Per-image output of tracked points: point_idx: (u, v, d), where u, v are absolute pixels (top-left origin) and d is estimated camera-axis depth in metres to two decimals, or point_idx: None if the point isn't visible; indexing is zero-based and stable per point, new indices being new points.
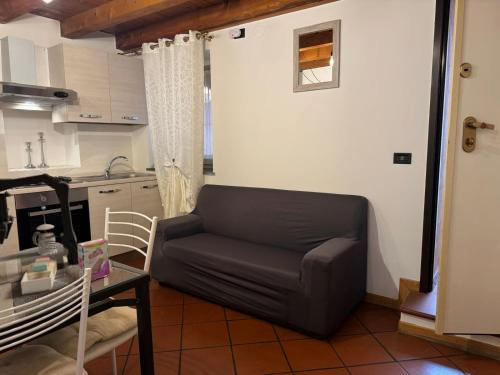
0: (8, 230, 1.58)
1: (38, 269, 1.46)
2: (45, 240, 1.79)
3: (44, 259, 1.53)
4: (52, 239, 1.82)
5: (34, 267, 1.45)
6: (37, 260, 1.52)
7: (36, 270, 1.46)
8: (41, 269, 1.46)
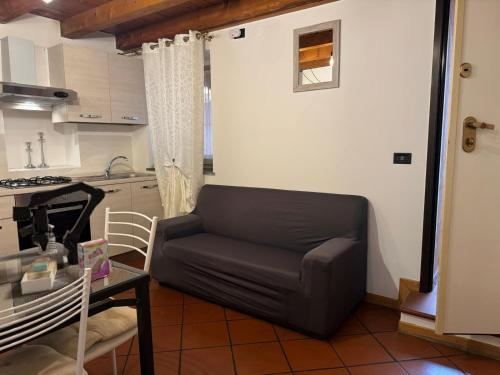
0: None
1: (38, 269, 1.46)
2: None
3: (44, 259, 1.53)
4: (52, 239, 1.82)
5: (34, 267, 1.45)
6: (37, 260, 1.52)
7: (36, 270, 1.46)
8: (41, 269, 1.46)
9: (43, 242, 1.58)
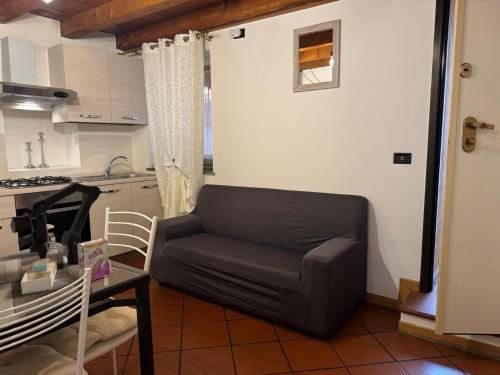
0: None
1: (38, 269, 1.46)
2: None
3: (44, 260, 1.52)
4: (52, 239, 1.82)
5: (34, 267, 1.45)
6: (36, 261, 1.51)
7: (36, 270, 1.45)
8: (41, 269, 1.46)
9: (42, 252, 1.54)
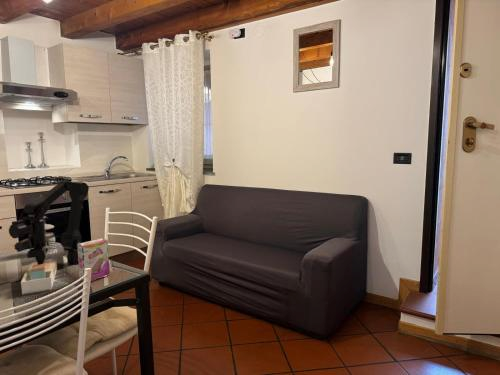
0: None
1: None
2: None
3: (41, 266, 1.45)
4: (52, 239, 1.82)
5: None
6: (33, 267, 1.44)
7: None
8: None
9: (40, 257, 1.47)
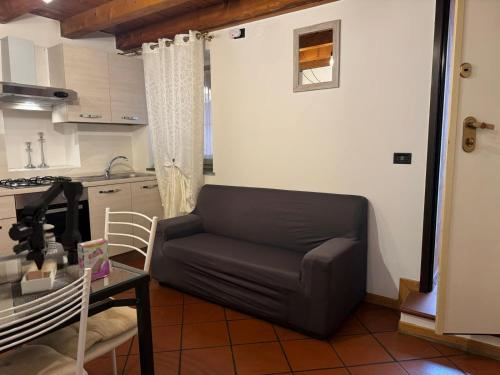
0: None
1: None
2: (45, 240, 1.79)
3: (38, 278, 1.41)
4: (52, 239, 1.82)
5: None
6: (30, 279, 1.40)
7: None
8: None
9: (39, 260, 1.44)
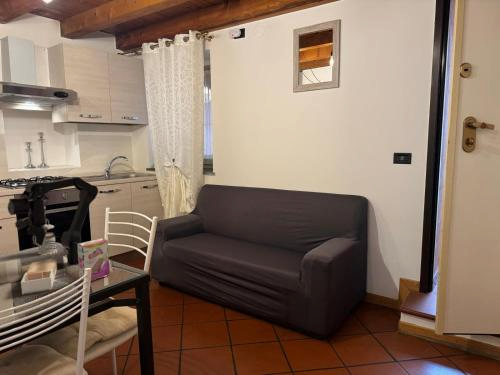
0: None
1: None
2: (45, 240, 1.79)
3: None
4: (52, 239, 1.82)
5: None
6: None
7: None
8: None
9: (40, 235, 1.51)
